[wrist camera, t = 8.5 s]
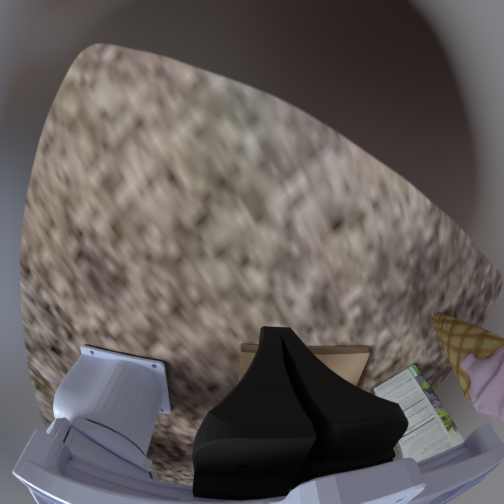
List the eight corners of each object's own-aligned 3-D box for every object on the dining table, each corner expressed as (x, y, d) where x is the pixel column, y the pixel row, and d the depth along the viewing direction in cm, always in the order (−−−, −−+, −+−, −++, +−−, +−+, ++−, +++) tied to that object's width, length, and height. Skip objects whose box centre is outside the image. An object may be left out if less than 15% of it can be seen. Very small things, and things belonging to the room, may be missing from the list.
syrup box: (418, 387, 26) (467, 467, 12) (378, 410, 27) (418, 498, 13) (413, 362, 25) (475, 452, 11) (369, 388, 26) (417, 490, 12)
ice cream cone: (403, 345, 24) (476, 449, 10) (419, 292, 22) (522, 388, 8) (445, 337, 24) (518, 419, 10) (462, 289, 22) (554, 362, 8)
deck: (228, 472, 31) (227, 478, 29) (241, 343, 23) (241, 352, 22) (304, 471, 31) (305, 477, 30) (365, 345, 23) (370, 353, 22)
